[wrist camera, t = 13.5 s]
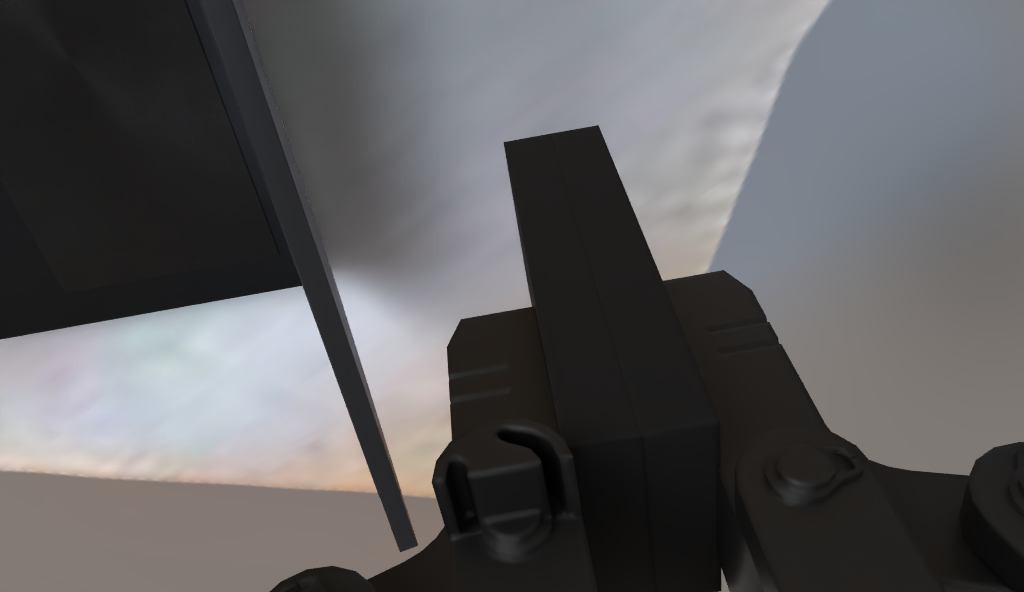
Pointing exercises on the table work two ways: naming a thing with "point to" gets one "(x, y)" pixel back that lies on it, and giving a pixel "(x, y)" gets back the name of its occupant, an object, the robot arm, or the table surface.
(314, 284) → the laptop screen
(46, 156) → the laptop
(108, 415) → the table surface
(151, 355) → the table surface
